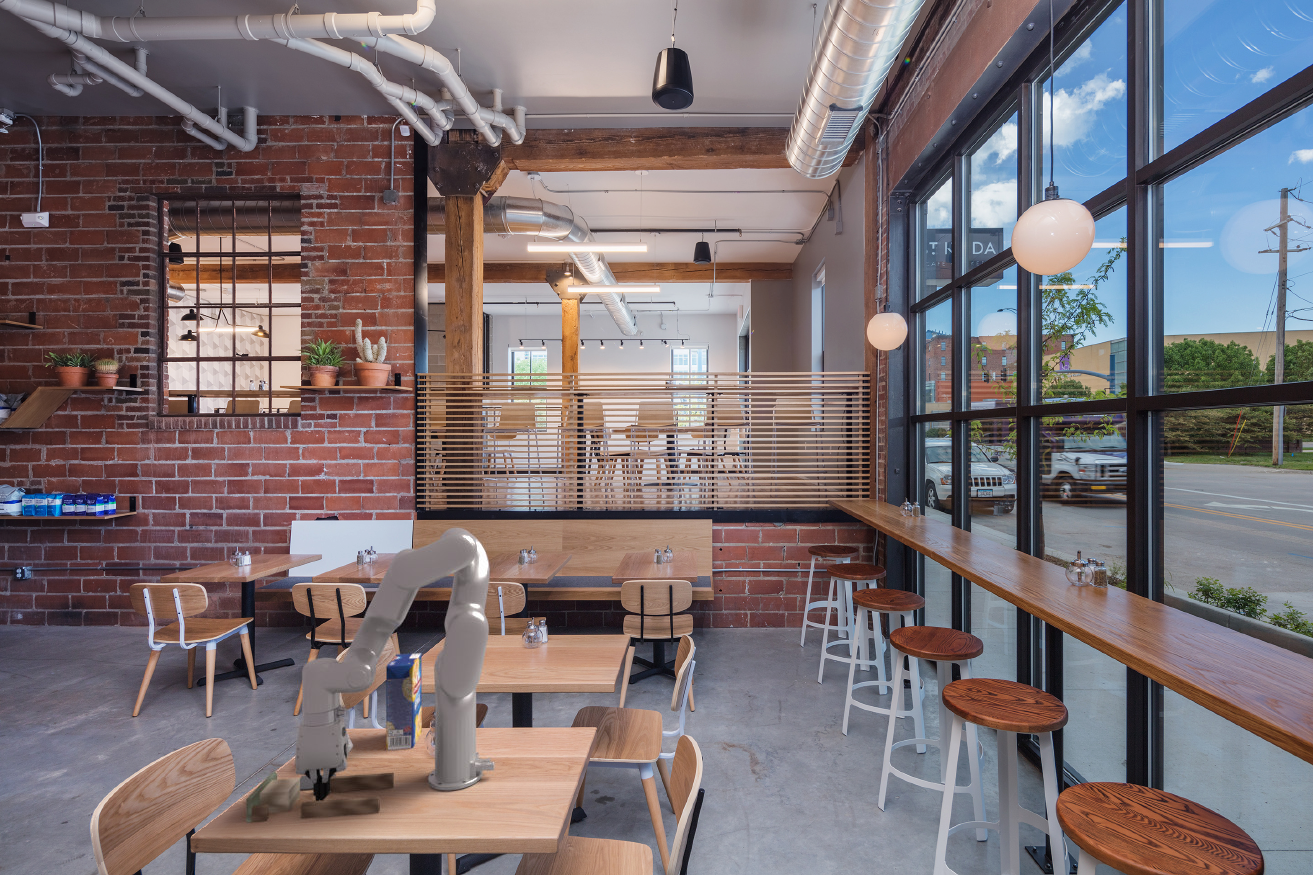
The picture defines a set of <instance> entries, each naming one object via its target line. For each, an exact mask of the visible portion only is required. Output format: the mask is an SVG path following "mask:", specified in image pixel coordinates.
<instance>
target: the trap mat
mask: <svg viewBox="0 0 1313 875" xmlns="http://www.w3.org/2000/svg"><path fill="white" fill-rule="evenodd" d="M321 776H322V777H323V774H321ZM335 776H337V773H335V774H334V775H333V776H332V777H335ZM299 778H300V791H313V783H311V780H310V779H309V778H308V777H307V776H306V775H301V776H300V777H299Z"/></svg>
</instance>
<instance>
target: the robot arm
mask: <svg viewBox="0 0 1313 875" xmlns="http://www.w3.org/2000/svg"><path fill="white" fill-rule="evenodd" d="M490 570H491V568H490V560H489V557H488V553H487V552H486V549H485V548H484V546H483V544H482V543H481V541H479V539H477V537H476V536H474V535H473V533H470V531H468V530H466V529H464V528H462V527H452V528H449V529H447V530H446V531H444V532H443V533H442V534H441V536H440V537H439V539H438V540H436V541H434V542H431V543H429V544H427V545H424V546H422V547H420V548H417V549H415V548H404V549H401V550H400V551H398V552H397V553H396V554H395V555H394V557H393V558H392V560H391V562H390V564H389V565H388V568H387V570H386V572H385V574H384V575H383V578H382V579H381V582H380V584H379V586H378V587H377V590H376V592H375V594H374V596H373V598H372V600H371V602H370V604H369V606H368V607H367V610H366V611H365V615H364V617H363V620H362V622H361V623H360V626H359V628H358V630H357V631H356V634H355V636H354V638H353V640H352V642H351V644H350V646H349V647H348V650H347V652H346V654H345V656H344V658H343V659H342V661H341V662H339V660H337V659H336V658H333V657H322V658H315V659H312V660H310V661H308V662H306V663H305V664H304V665H303V667H302V669H301V670H302V672H301V679H302V681H301V683H302V685H301V686H302V688H301V689H302V692H301V693H302V694H301V696H302V699H301V700H302V704H301V705H302V712H301V713H302V722H300V724H299V726H298V732H297V736H296V742H295V743H296V744H295V753H294V754H295V756H294V757H295V758H294V760H295V762H294V763H295V774H296V775H301V776H307V777H308V778H309V779H310V780H311V783H313V790H312V791H313V792H312V793H313V797H314V798H315V800H314V801H323V800H326V799H327V796H329V794H330V793H331V792H330V778H331V777H332V776H333V775H334V774H338V773H340V772H344V771H345V770H346V769H347V768H348V762H347V759H348V756H349V753H348V738H347V733H348V731H347V726H346V720H345V717H343V716H346V715H347V708H342V707H341V706H342V705H341V701H340V700H341V694H356V693H357V694H358V693H361V692H363V691H366V690H367V689H369V688H371V687H372V685H373V683H374V681H375V678H376V672H377V671H376V670H377V669H376V668H377V665H378V662H379V660H380V657H381V655H382V653H383V651H384V650H385V647H386V645H387V643H388V642H389V641H390V640H389V639H390V638H391V636H392V635H393V633H394V632H395V630H397V629H398V627H400V626H401V625H402V623H403V622H404V620H405V619H406V616H407V614H408V613H409V610H410V608H411V606H412V604H413V602H414V599H415V598H416V596H417V594H418V592H419V590H420V588H423V587H425V586H428V585H431V584H432V583H435V582H437V581H439V580H441V579H443V578H446V577H448V576H450V575H452V574H453V582H452V588H451V594H450V599H449V604H448V607H447V608H448V609H447V611H446V616H445V618H444V629H445V638H444V643H443V649H441V651H439V653H438V654H437V656H436V658H435V661H434V668H433V676H434V677H433V678H434V769H433V770H432V771H431V772H430V773H428V777H427V780H428V782H427V783H428V785H429V786H430V787H431V788H433V789H435V790H438V791H439V790H440V791H456V790H462V789H464V788H468V787H470V786H472V785H474V784H476V783H478V782H479V780H481V779H482V777H483V772H484V771H487V772H488V771H489V772H490V771H495V764H496V762H495V761H492V758H491V757H490V758H489V757H488V758H481V757H480V753H479V752H477V687H478V684H479V682H480V679H481V676H482V671H483V667H484V661H485V655H486V652H487V651H486V650H487V645H488V639H489V631H490V629H489V628H490V626H489V621H488V618H487V617H486V614H485V611H486V604H487V598H488V592H489V584H490V572H491V571H490ZM322 770H323V771H322ZM322 772H323V773H322ZM321 775H323V777H322V776H321Z"/></svg>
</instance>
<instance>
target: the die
mask: <svg viewBox="0 0 1313 875" xmlns="http://www.w3.org/2000/svg"><path fill="white" fill-rule="evenodd" d="M347 738H348V754H349V753H350V751H351V750H352V749H353V748H354V744H353V743H352V740H351V738H350V735H349V733H348V732H347Z"/></svg>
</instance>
